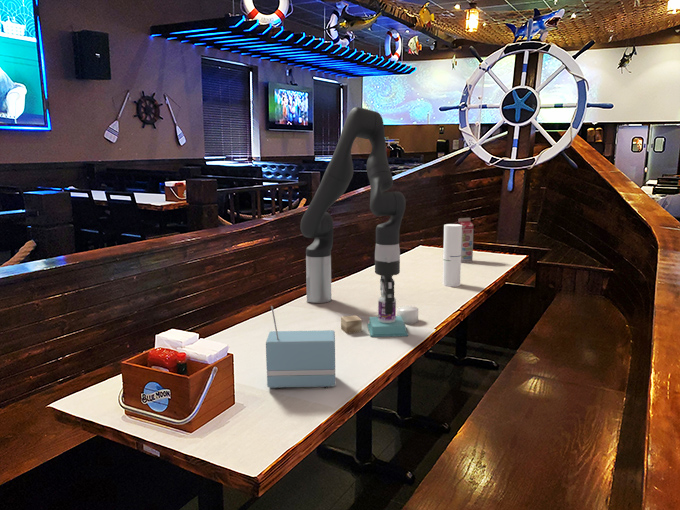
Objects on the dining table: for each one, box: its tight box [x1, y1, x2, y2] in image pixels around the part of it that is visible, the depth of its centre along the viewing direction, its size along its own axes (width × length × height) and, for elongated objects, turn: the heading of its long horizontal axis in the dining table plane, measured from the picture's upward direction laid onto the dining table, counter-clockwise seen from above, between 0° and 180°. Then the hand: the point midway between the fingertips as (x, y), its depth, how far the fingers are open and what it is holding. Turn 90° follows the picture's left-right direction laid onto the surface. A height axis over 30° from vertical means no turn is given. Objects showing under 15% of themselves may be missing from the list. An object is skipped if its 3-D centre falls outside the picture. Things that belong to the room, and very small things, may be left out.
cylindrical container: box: [442, 223, 462, 288], centre depth 221 cm, size 7×7×25 cm
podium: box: [367, 315, 409, 338], centre depth 165 cm, size 11×11×3 cm
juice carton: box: [455, 217, 474, 264], centre depth 270 cm, size 7×7×22 cm
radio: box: [265, 305, 336, 390], centre depth 127 cm, size 16×9×20 cm, turn 91°
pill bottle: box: [377, 290, 397, 323], centre depth 164 cm, size 5×5×10 cm
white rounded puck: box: [396, 305, 419, 325], centre depth 175 cm, size 7×7×4 cm
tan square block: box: [340, 315, 363, 335], centre depth 166 cm, size 5×5×4 cm
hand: (387, 310), depth 165 cm, fingers open, 8 cm apart
